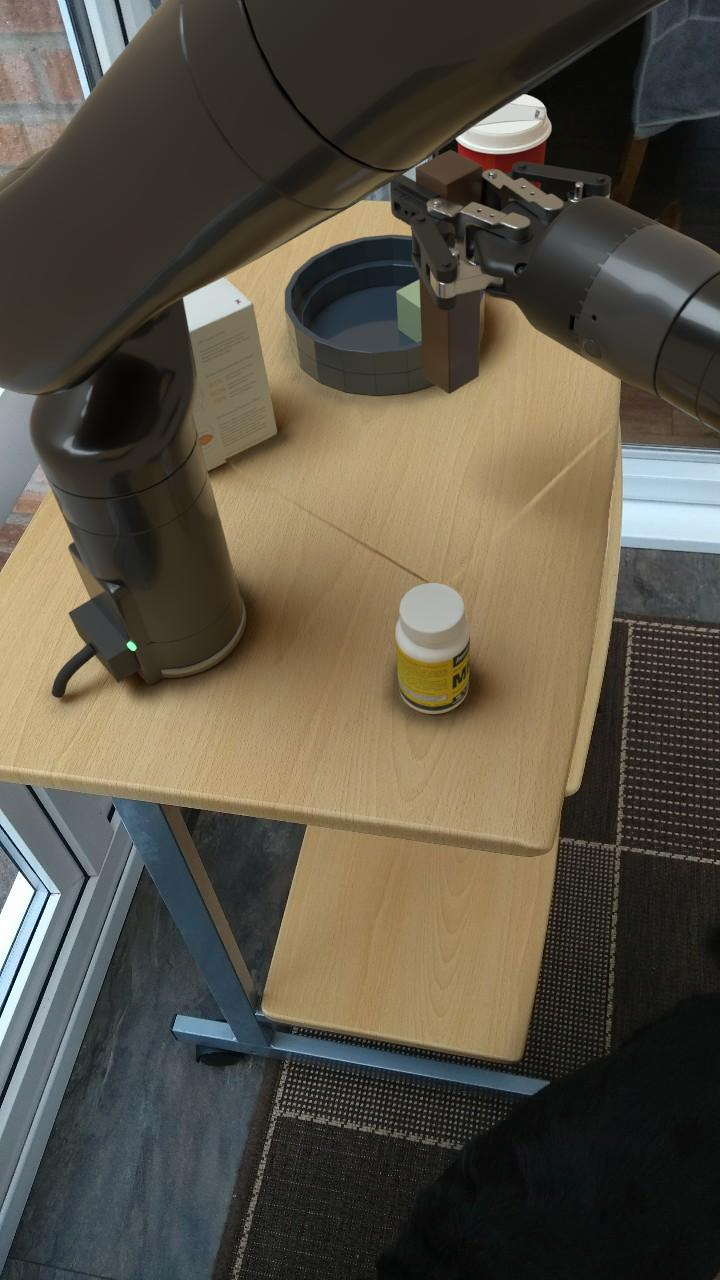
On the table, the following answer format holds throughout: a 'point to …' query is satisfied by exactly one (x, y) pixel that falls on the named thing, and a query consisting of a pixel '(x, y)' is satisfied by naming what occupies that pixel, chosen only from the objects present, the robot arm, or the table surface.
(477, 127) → the coffee cup
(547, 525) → the table surface
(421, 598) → the supplement bottle
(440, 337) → the stick
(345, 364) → the bowl
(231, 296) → the small box
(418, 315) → the block
